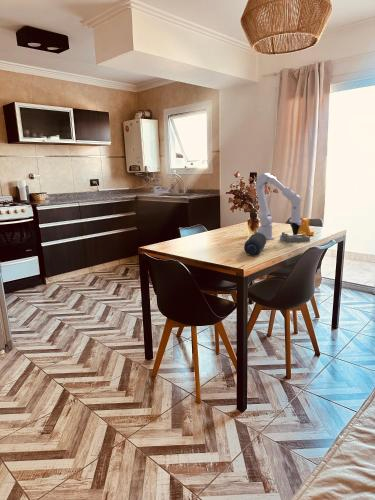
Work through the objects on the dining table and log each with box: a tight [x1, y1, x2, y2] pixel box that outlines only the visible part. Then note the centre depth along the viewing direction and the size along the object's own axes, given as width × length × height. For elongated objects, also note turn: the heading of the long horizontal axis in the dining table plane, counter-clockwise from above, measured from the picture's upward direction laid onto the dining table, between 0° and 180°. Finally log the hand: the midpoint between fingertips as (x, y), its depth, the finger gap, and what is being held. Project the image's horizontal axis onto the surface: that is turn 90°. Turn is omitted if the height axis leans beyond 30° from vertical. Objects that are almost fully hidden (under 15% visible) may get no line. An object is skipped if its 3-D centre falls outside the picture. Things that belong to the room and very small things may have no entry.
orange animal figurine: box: [297, 217, 315, 237], centre depth 242 cm, size 11×7×12 cm, turn 39°
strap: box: [283, 233, 303, 237], centre depth 226 cm, size 14×3×1 cm, turn 97°
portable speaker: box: [243, 232, 267, 257], centre depth 202 cm, size 25×10×10 cm, turn 159°
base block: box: [279, 231, 311, 244], centre depth 227 cm, size 16×10×5 cm, turn 97°
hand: (295, 234), depth 226 cm, fingers closed, pressing on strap
